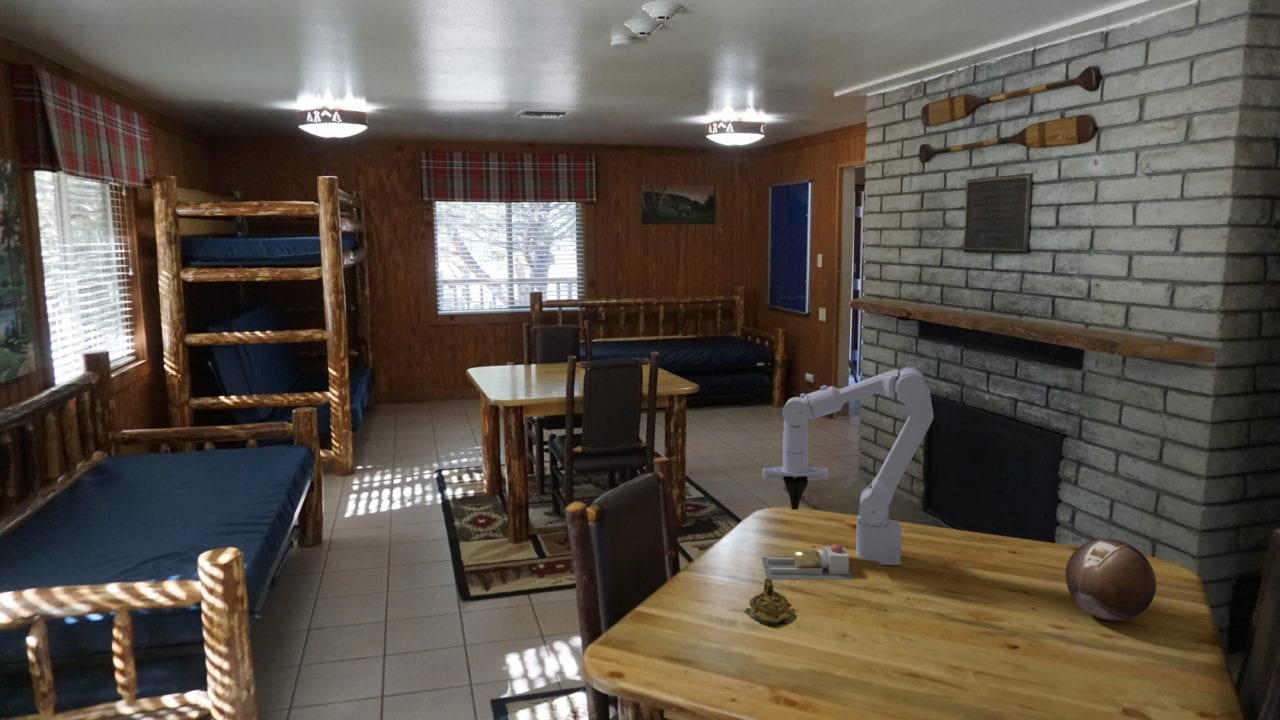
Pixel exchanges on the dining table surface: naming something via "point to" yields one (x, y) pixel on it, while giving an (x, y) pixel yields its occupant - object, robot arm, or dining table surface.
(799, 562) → the brass fitting
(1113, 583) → the wooden sphere
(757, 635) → the dining table surface
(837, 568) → the valve board
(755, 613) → the seal
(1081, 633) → the dining table surface
